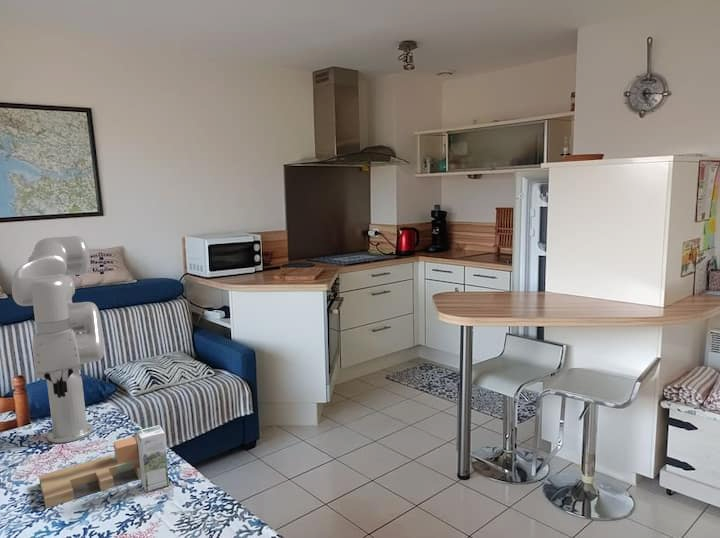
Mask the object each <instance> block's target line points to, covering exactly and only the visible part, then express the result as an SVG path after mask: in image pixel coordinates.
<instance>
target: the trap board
mask: <svg viewBox="0 0 720 538" xmlns="http://www.w3.org/2000/svg"><path fill="white" fill-rule="evenodd" d="M131 437H134V439H135V441H136V443H137V434H131ZM137 450H138V444H137ZM38 477H39V478H38V479H39V487H40V490H41V494H42V499H43V501H44V506H45V509H49V508H52V507H55V506H56V507H57V506H58V505H62V504H64V503H68V502H72V501H74V500H77V499H80V498H83V497H84V498H85V497H87V496H90V495H94V494H96V493H101V492H102V491H105V490H109V489H113V488H116V487H118V486H123V485H124V484H128V483H131V482H134V481H137V480H141V476H140V465H139V455H138V459H137V460H134V461H130V462H126V463H123V464H119V465H118V463H117V460H116V458H115V453H114V454H110V455H106V456H104V457H100V458H96V459H92V460H90V461H86V462H82V463H79V464H75V465H71V466H68V467H64V468H62V469H58V470H54V471H50V472H48V473H47V472H46V473H44V474H40V475H38Z"/></svg>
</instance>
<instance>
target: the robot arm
mask: <svg viewBox="0 0 720 538" xmlns="http://www.w3.org/2000/svg"><path fill="white" fill-rule="evenodd" d="M89 249H90V248H89V247H88V244H87V242H86V240H84V238H83V237H80V236H74V235H73V236H58V237H56V236H55V237H54V236H53V237H46V238H42V239H41V240H38V241H37V242H36V244H35V245H34V248H33V254H31V255H30V256H29V257H28V259H27V262H26V263H24V264H23V265H21V266H19V267H18V268H17V269H16V270H15V272H14V274H13V277H12V283H11V293H12V298H13V300H14V303H16V304H17V305H18V306H21V307H30V306H33V307H32V308H33V314H34V323H35V331H36V333H34V334H33V335H32V359H33V361H32V362H33V368H34V374H33V376H34V378H35V379H46V385H47V392H48V393H47V394H48V402H49V408H50V409H49V410H50V420H51V426H52V430H51V431H50V432H49V433H48V434H47V440H48V441H49V442H51V443H54V444H55V443H56V444H59V443H60V444H61V443H62V444H65V443H69V442H74V441H77V440H81V439H83V438H85V437H87V436H89V435H90V434H91V433H93V430H94V426H93V425H92V424H91V423H88V422H87V413H86V405H85V404H86V403H85V395H84V385H83V379H82V376H81V375H80V373H79V372H78V371H81V370H82V365H84V364H90V363H95V362H99V361H101V360H102V359H103V358H104V356H105V345H104V336H103V329H102V322H101V321H102V320H101V314H100V311H99V308H98V306H97V305H96V304H95V303H94V302H92V301H83V302H73V296H74V295H75V292H76V286H75V285H76V284H75V282H74V280H73V279H72V278H71V277H70V276H78V275H84V274H87V273H88V272H89V270H90V268H91V260H90V250H89Z"/></svg>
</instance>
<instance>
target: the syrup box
mask: <svg viewBox="0 0 720 538" xmlns="http://www.w3.org/2000/svg"><path fill="white" fill-rule="evenodd" d="M136 436H137V444H138V455H139V465H140V476H141V479H140V483H141V486H142V487H143V489H144V490H145V493H148V492H153V491H157V490H159V489H162V488H166V487H168V486H170V480H169V468H168V465H169V464H168V455H167V454H168V453H167V442H166V433H165V432H164V430H163V428H162V426H160V425H154V426H150V427H146V428H142V429H138V430H136Z"/></svg>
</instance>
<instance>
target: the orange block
mask: <svg viewBox="0 0 720 538" xmlns="http://www.w3.org/2000/svg"><path fill="white" fill-rule="evenodd" d="M113 448H114V454H115V458H116V460H117V463H118V465H119V464H123V463H126V462H130V461H134V460H137V459H138V450H137V443H136V441H135V439H134V437H132V436H131V437H127V438H124V439H121V440H116V441H113Z"/></svg>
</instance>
